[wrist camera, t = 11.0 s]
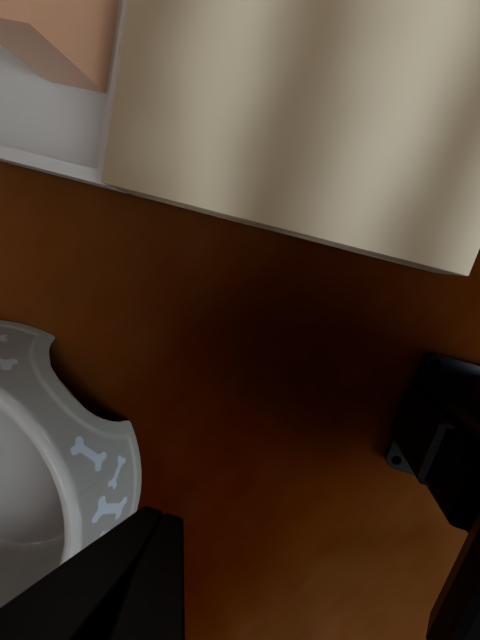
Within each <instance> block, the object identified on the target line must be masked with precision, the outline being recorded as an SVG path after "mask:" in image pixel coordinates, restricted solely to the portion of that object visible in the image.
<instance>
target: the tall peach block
mask: <svg viewBox="0 0 480 640" xmlns="http://www.w3.org/2000/svg"><path fill="white" fill-rule="evenodd" d="M118 4H119V0H0V45H2V46H3V47H5V48H6V49H7V50H9V51H10V52H11V53H13V54H14V55H15V56H17V57H18V58H19V59H21V60H22V61H23V62H25V63H26V64H27V65H29V66H30V67H31V68H33V69H34V70H35V71H37V72H38V73H39V74H41V75H42V76H43V77H45V78H46V79H47V80H49V81H50V82H52V83H57V84H62V85H67V86H72V87H77V88H82V89H87V90H91V91H96V92H101V93H106V92H107V85H108V77H109V70H110V63H111V55H112V48H113V41H114V33H115V26H116V19H117V11H118Z"/></svg>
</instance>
